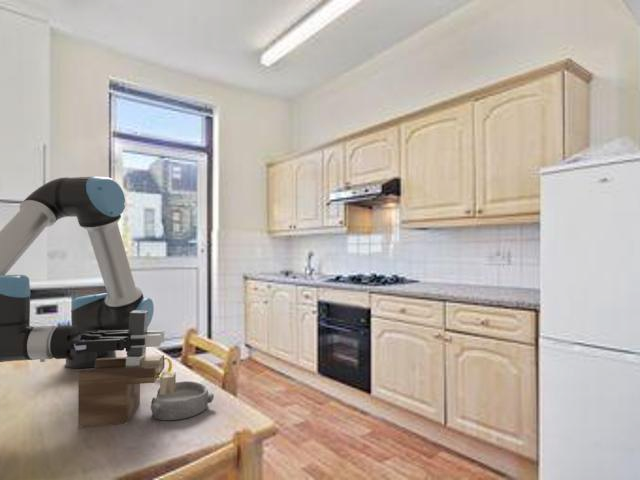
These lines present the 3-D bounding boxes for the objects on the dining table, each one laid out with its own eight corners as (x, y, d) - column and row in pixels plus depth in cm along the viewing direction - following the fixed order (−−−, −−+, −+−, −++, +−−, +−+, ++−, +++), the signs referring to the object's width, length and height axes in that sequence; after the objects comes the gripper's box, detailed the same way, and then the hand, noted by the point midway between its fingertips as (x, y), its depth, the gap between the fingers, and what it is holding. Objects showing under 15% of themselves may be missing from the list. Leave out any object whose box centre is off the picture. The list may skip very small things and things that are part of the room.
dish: (152, 427, 92) (152, 405, 92) (146, 405, 104) (146, 386, 104) (217, 414, 99) (217, 393, 99) (205, 395, 111) (205, 377, 111)
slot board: (97, 406, 104) (97, 358, 104) (164, 401, 107) (164, 354, 107) (78, 426, 92) (78, 372, 92) (154, 421, 95) (153, 368, 95)
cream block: (162, 372, 103) (175, 371, 103) (162, 388, 103) (175, 388, 103) (160, 377, 99) (173, 376, 99) (160, 394, 99) (173, 393, 99)
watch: (168, 373, 131) (169, 354, 131) (172, 375, 129) (173, 356, 129) (149, 376, 126) (151, 357, 127) (153, 378, 124) (155, 358, 125)
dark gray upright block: (130, 366, 101) (134, 309, 101) (145, 367, 102) (149, 310, 102) (124, 374, 96) (128, 313, 96) (139, 374, 96) (143, 313, 96)
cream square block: (145, 368, 102) (145, 356, 102) (162, 367, 102) (162, 355, 102) (141, 373, 98) (141, 360, 98) (159, 372, 98) (159, 360, 98)
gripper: (71, 349, 104) (168, 345, 108) (37, 369, 88) (154, 363, 92) (71, 319, 104) (168, 316, 108) (37, 333, 88) (154, 329, 92)
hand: (161, 338), depth 100 cm, fingers closed on dark gray upright block, 3 cm apart
